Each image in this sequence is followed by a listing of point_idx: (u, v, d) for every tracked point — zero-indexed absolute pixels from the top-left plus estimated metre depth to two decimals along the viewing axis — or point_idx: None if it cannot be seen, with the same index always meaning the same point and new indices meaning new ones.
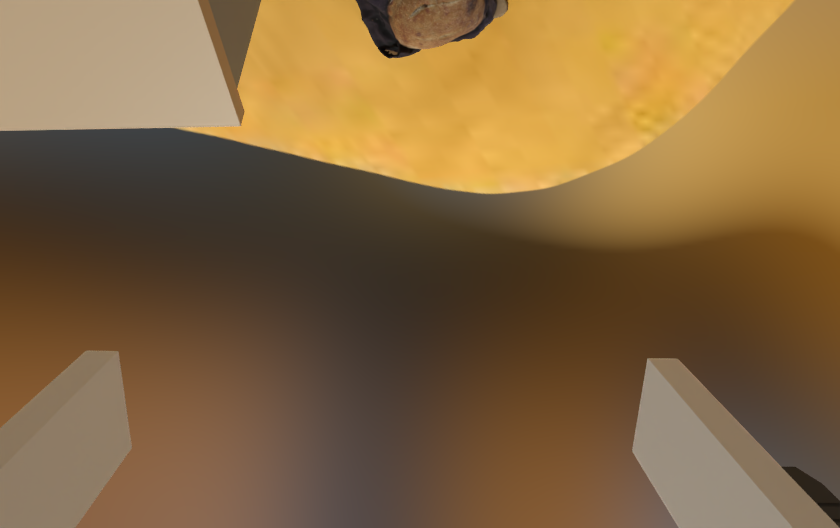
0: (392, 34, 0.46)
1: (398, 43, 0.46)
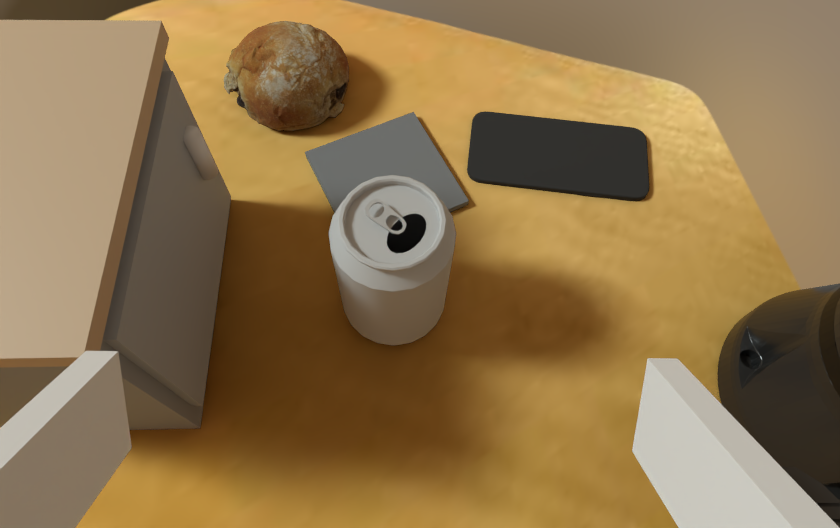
0: None
1: None
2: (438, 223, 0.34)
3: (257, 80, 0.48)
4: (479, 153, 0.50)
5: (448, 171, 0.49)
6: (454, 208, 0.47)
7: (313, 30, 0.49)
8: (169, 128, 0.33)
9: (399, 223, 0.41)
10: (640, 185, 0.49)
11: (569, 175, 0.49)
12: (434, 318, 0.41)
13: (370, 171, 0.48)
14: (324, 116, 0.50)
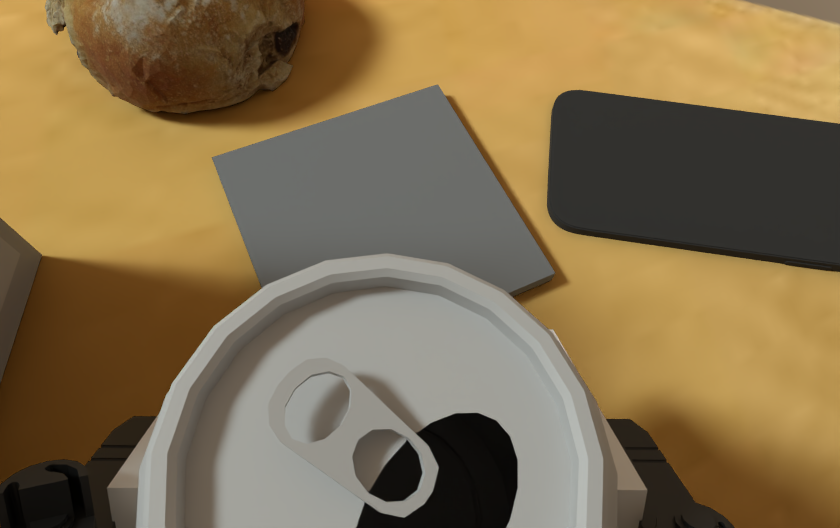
0: None
1: None
2: (565, 460, 0.09)
3: (97, 1, 0.22)
4: (570, 172, 0.24)
5: (510, 207, 0.23)
6: (523, 289, 0.22)
7: None
8: None
9: None
10: None
11: (761, 221, 0.24)
12: None
13: (345, 202, 0.23)
14: (248, 86, 0.25)
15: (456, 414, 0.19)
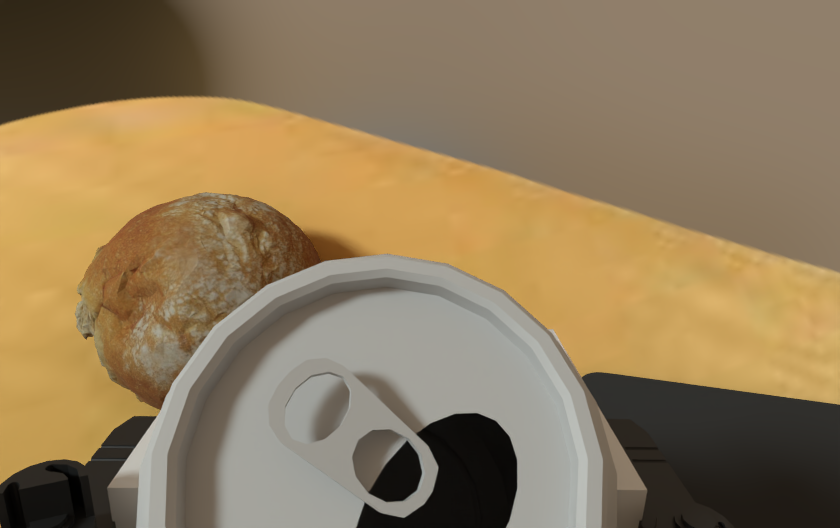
0: None
1: None
2: (565, 461, 0.09)
3: (127, 339, 0.23)
4: None
5: None
6: None
7: (249, 228, 0.24)
8: None
9: None
10: None
11: None
12: None
13: None
14: None
15: (456, 414, 0.19)
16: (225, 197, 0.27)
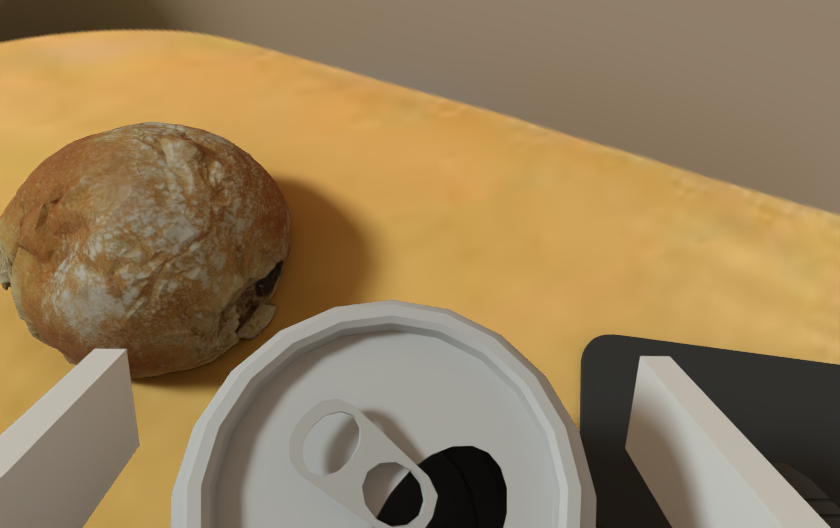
0: None
1: None
2: (549, 489, 0.10)
3: (46, 284, 0.19)
4: (605, 453, 0.21)
5: None
6: None
7: (197, 156, 0.20)
8: None
9: None
10: None
11: None
12: None
13: None
14: (225, 344, 0.22)
15: None
16: (174, 127, 0.23)
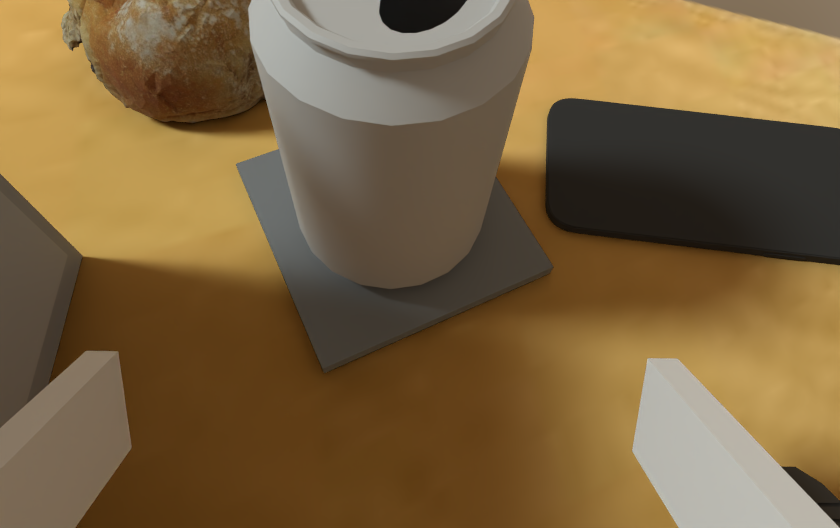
0: None
1: None
2: None
3: (112, 21, 0.24)
4: (566, 175, 0.26)
5: (511, 206, 0.25)
6: (525, 282, 0.24)
7: None
8: None
9: None
10: None
11: (741, 217, 0.26)
12: (468, 236, 0.21)
13: None
14: (252, 96, 0.27)
15: None
16: None
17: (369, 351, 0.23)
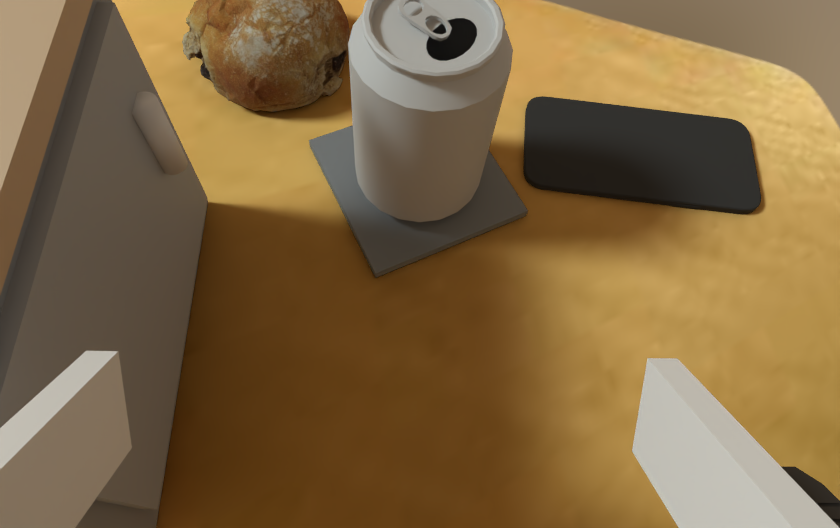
0: None
1: None
2: (492, 30, 0.26)
3: (226, 41, 0.35)
4: (538, 150, 0.38)
5: (499, 170, 0.37)
6: (508, 220, 0.36)
7: None
8: (106, 92, 0.21)
9: None
10: (749, 193, 0.37)
11: (658, 179, 0.37)
12: (471, 186, 0.33)
13: None
14: (316, 93, 0.38)
15: None
16: None
17: (405, 263, 0.34)
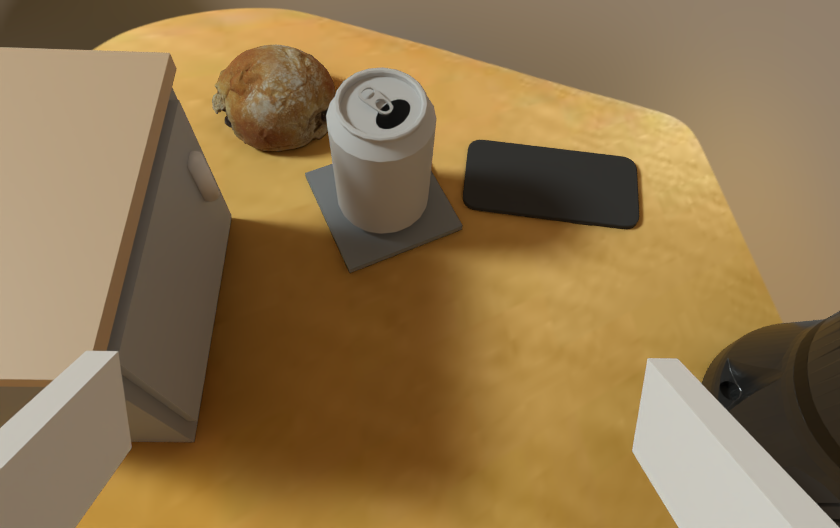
0: None
1: None
2: (420, 107, 0.40)
3: (243, 102, 0.49)
4: (474, 181, 0.51)
5: (443, 196, 0.50)
6: (448, 232, 0.49)
7: (300, 55, 0.50)
8: (174, 155, 0.35)
9: (389, 125, 0.47)
10: (630, 214, 0.50)
11: (562, 203, 0.51)
12: (417, 208, 0.46)
13: None
14: (308, 137, 0.52)
15: None
16: (285, 46, 0.53)
17: (371, 263, 0.47)
